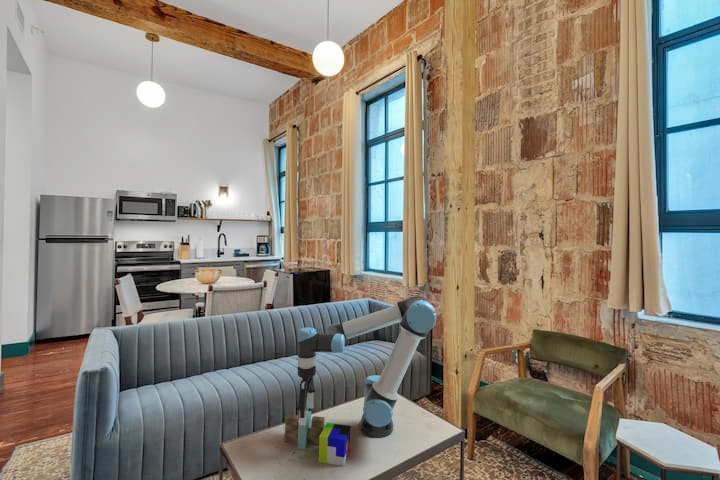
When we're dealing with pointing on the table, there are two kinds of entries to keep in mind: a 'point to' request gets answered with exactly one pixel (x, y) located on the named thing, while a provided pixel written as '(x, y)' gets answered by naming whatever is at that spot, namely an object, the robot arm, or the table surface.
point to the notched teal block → (304, 431)
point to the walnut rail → (312, 433)
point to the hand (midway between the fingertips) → (306, 416)
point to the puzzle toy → (334, 444)
